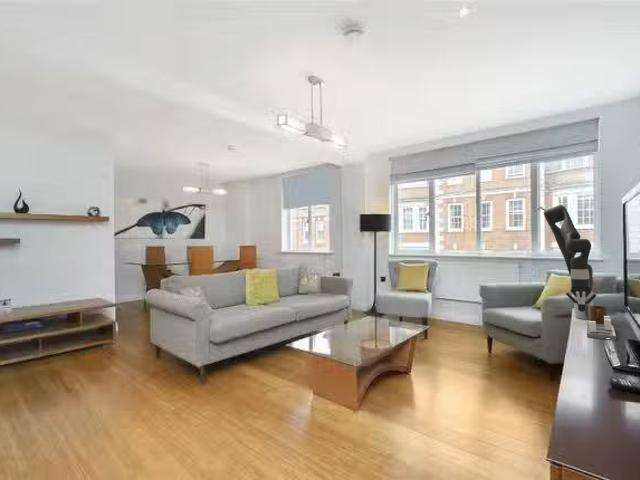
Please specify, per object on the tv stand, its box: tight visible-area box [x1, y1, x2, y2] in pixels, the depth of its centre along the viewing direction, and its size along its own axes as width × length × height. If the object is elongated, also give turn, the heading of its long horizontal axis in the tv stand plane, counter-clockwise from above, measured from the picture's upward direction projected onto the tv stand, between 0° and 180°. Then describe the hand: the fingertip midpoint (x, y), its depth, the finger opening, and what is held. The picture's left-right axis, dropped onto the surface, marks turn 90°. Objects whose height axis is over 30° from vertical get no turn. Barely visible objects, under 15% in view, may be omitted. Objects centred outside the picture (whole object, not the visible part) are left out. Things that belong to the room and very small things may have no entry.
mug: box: [589, 305, 608, 325], centre depth 190 cm, size 12×8×9 cm, turn 144°
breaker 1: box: [588, 320, 596, 332], centre depth 169 cm, size 3×2×5 cm
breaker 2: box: [604, 318, 612, 330], centre depth 171 cm, size 3×2×5 cm
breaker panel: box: [586, 322, 617, 341], centre depth 173 cm, size 24×11×2 cm, turn 141°
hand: (581, 311), depth 172 cm, fingers closed
